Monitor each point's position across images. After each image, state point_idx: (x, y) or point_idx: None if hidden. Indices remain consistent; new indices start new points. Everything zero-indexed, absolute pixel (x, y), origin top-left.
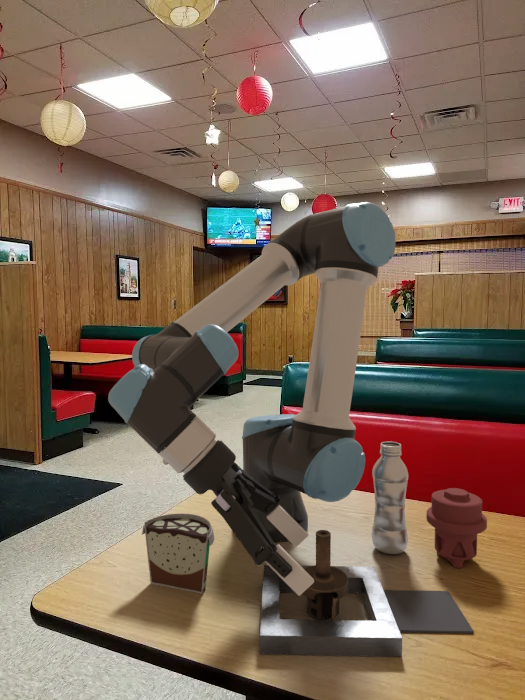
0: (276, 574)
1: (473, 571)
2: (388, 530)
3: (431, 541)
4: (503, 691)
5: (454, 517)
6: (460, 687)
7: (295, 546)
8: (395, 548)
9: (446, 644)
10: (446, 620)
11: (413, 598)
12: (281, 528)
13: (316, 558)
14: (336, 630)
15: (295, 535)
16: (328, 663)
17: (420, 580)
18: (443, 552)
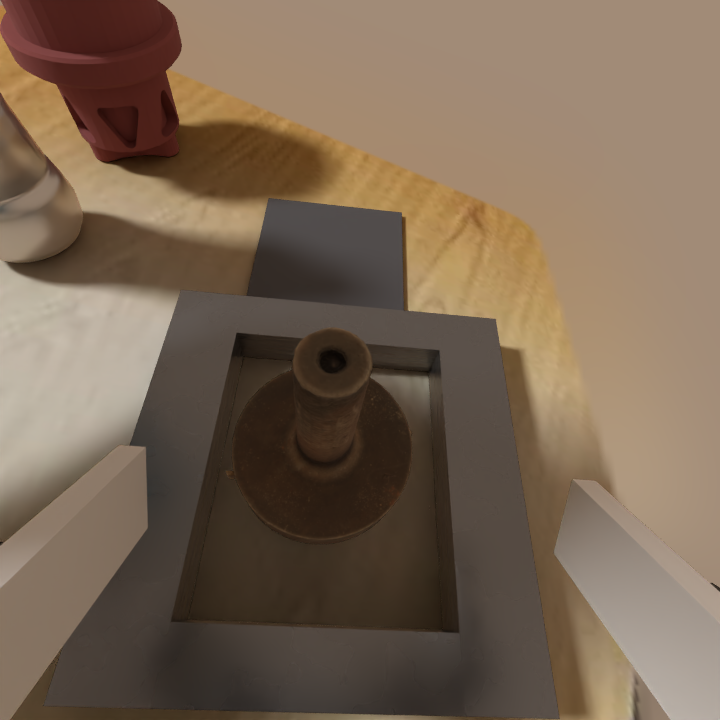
0: (151, 635)
1: (197, 139)
2: (32, 186)
3: None
4: (534, 237)
5: (139, 20)
6: (539, 283)
7: (145, 529)
8: (78, 217)
9: (434, 262)
10: (370, 236)
11: (289, 261)
12: (68, 618)
13: (337, 442)
14: (492, 452)
15: (121, 519)
16: (525, 495)
17: (210, 227)
18: (145, 142)
